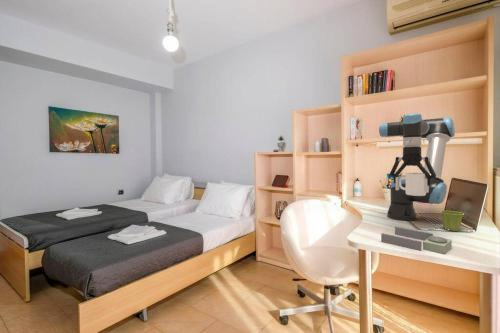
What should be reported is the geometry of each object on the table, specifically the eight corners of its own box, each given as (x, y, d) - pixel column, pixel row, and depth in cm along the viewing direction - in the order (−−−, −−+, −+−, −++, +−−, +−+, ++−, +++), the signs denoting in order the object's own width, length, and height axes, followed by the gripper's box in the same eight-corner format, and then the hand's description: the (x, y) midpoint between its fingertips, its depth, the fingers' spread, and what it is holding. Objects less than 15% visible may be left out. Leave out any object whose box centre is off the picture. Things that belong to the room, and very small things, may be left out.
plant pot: (448, 226, 134) (448, 209, 134) (468, 231, 126) (468, 213, 125) (435, 228, 132) (435, 211, 131) (455, 233, 123) (455, 215, 122)
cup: (420, 196, 117) (421, 174, 117) (394, 193, 128) (394, 173, 127) (429, 194, 122) (429, 173, 121) (402, 191, 132) (403, 172, 132)
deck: (395, 233, 123) (395, 225, 123) (453, 245, 107) (453, 236, 106) (381, 241, 113) (381, 232, 113) (442, 255, 96) (442, 245, 96)
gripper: (382, 147, 130) (382, 189, 131) (440, 145, 112) (439, 194, 113) (388, 147, 135) (388, 188, 136) (444, 145, 117) (444, 192, 118)
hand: (411, 191), depth 125 cm, fingers closed on cup, 12 cm apart
